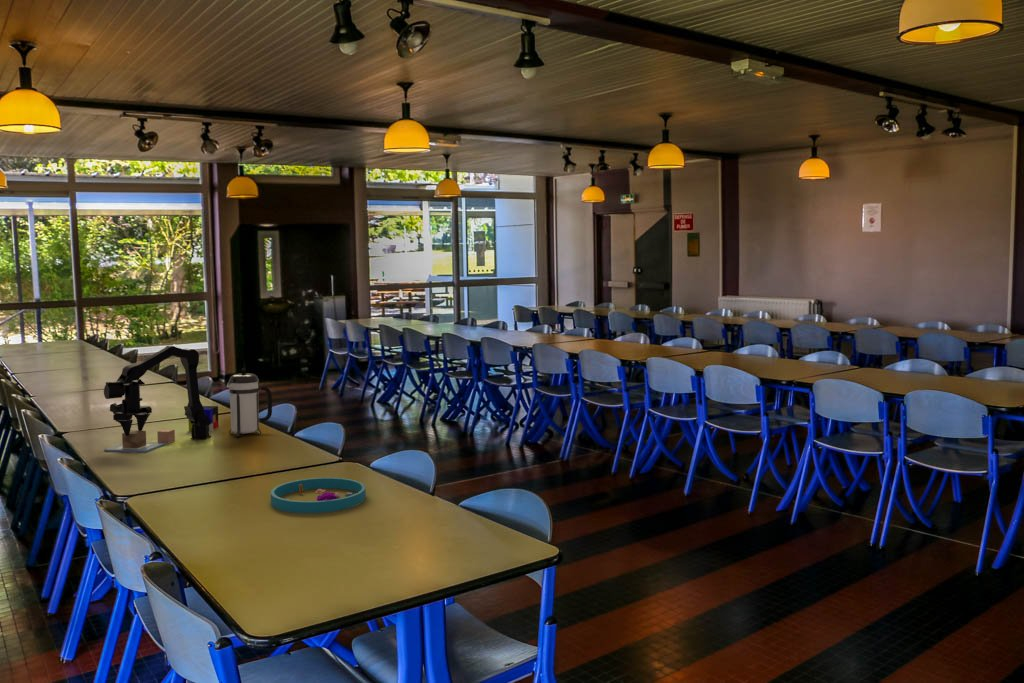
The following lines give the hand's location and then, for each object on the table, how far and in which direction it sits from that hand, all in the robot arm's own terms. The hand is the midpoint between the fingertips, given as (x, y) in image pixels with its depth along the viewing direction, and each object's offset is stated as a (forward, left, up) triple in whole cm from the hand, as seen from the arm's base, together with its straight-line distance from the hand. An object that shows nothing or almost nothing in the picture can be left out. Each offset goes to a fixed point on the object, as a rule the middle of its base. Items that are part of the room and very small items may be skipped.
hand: (133, 433), depth 343 cm
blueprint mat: (0, -1, -6) cm, 6 cm away
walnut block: (0, 0, -5) cm, 5 cm away
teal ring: (-102, +62, -7) cm, 120 cm away
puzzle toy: (-8, -43, -6) cm, 44 cm away
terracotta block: (-6, -14, -6) cm, 17 cm away
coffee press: (-33, -35, -6) cm, 49 cm away
